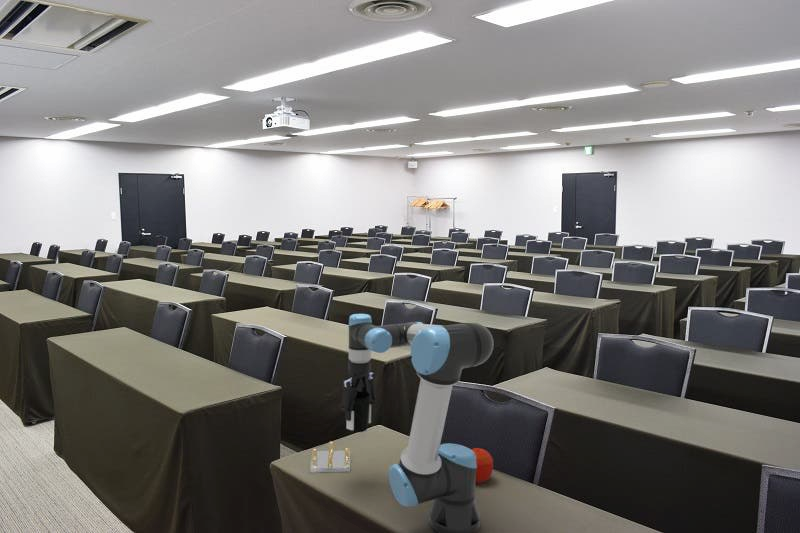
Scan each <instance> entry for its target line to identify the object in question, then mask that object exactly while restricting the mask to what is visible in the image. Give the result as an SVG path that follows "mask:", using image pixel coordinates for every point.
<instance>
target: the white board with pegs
mask: <svg viewBox="0 0 800 533" xmlns="http://www.w3.org/2000/svg"><path fill="white" fill-rule="evenodd" d="M328 443H329V444H328V448H329V449H328V450H318V449H317V448H315V447H313V448H312V451H311V452H312V453H311V459H310V466H309V473H310V474H311V473H312V474H313V473H315V474H316V473H350V472H351V450H350V447H344V450H334V444H335V443H334V440H333V441H332V440H330V441H329V442H328Z"/></svg>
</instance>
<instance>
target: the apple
mask: <svg viewBox="0 0 800 533" xmlns="http://www.w3.org/2000/svg"><path fill="white" fill-rule="evenodd" d="M470 449H471V448H470ZM471 450H472V451H473V452H474V453H475V455H476V465H477V468H476V484H481V483H485V482H486V481H487V480H489V479H490V478H491V477H492V474H493V470H494V459H493V457H492V456H491V453H490V452H489V451H487V450H485V449H483V448H479V447H474V448H472V449H471Z"/></svg>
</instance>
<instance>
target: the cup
mask: <svg viewBox="0 0 800 533" xmlns="http://www.w3.org/2000/svg"><path fill="white" fill-rule="evenodd" d="M369 405H370V394H369V393H368V395H365V394H363V391H362V390H361V391H360V390H359V391H358V392H357V395H356V398H354V405H353V409H352V411H354V430H353V431H352V430H350V431H352V432H354V433H363V432H366V431H367V429H368V424H369V423H368V414H369Z"/></svg>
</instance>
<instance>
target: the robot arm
mask: <svg viewBox="0 0 800 533" xmlns="http://www.w3.org/2000/svg"><path fill="white" fill-rule="evenodd" d="M372 323H373V320H372V316H371V315H370V314H366V313H354V314H351V315H349V319H348V362H347V364H348V367H347V368H348V369H347V370H348V373H349V377H348V379H347V380H345V379H343V380H342V394H341V403H340V410H341V411H344V412H345V421H346V428H345V429H347V430H350V431H351V430H352V432H353V430H354V411H352V409H353V405H354V398H356V395H357V392H358V391H360V389H361V391H363V394H365V395H368V393H369V394H370V405H369V414H368V423H367V424H371V423H372V412H373V405H375V402H376V401H377V398H378V397H377V390H376V373H374V372H371V370H372V362H371V359H372V352H373V353H374V352H375V353H377V354H381V353H385V352H387V351H388V350H389V349H393V348H401V347H410V356H412V357H411V359H410V361H411V364H412V366H413V368H414V370H415V371H416V375H417V376H418V377H419V378H420V382H419V386H418V392H417V397H416V401H415V407H414V413H413V417H412V422H411V427H410V433H409V438H408V445H407V447H406V448H404V449H403V450H402V451H401V453H400V457H399V462H398V463H394V464H393V465H391V466H390V467H389V470H388V480H389V481H388V482H389V485H390V489H391V492H392V494H393V495H394V497H395V500H396V501H397V502H398V503H399V504H400V505H401V506H403V507H406V508H409V507H413V506H418V505H420V504H425V503H427V502H430V501H433V503H432V506H431V507H430V510H429V514H428V515H429V516H428V521H429V522H428V523H429V525H430V527H431V528H432V530H434V531H435V533H477V532H478V531H479V530H480V528H481V515H480V512H479V508H478V505H477V501H476V485H477V483H476V468H477V465H476V455H475V453H474V452H473V451H472V450H471V448H469V447H466V446H464V445H461V444H457V443H449V442H448V443H441V442H442V441H441V440H442V437H443V433H444V429H445V428H444V427H445V424H446V417H447V413H448V409H449V403H450V400H451V395H452V390H453V386H455V385H456V384H458V383H459V381H460V380H461V375H462V371H463V369H467V368H473V367H478V366H479V365H482V364H484V363H485V362H487V360H488V359H490V358H491V355H492V354H493V351H494V346H495V345H494V342H495V341H494V338H493V335H492V333H491V331H490V330H489V329H488V328H487V327H486V326H485V325H482V324H480V323H476V322H464V323H455V324H448V325H446V324H445V325H440V324H426V323H423V322H421V321H410V322H405V323H402V322H401V323H395V324H385V325H383V324H382V325H374V324H372Z"/></svg>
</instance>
